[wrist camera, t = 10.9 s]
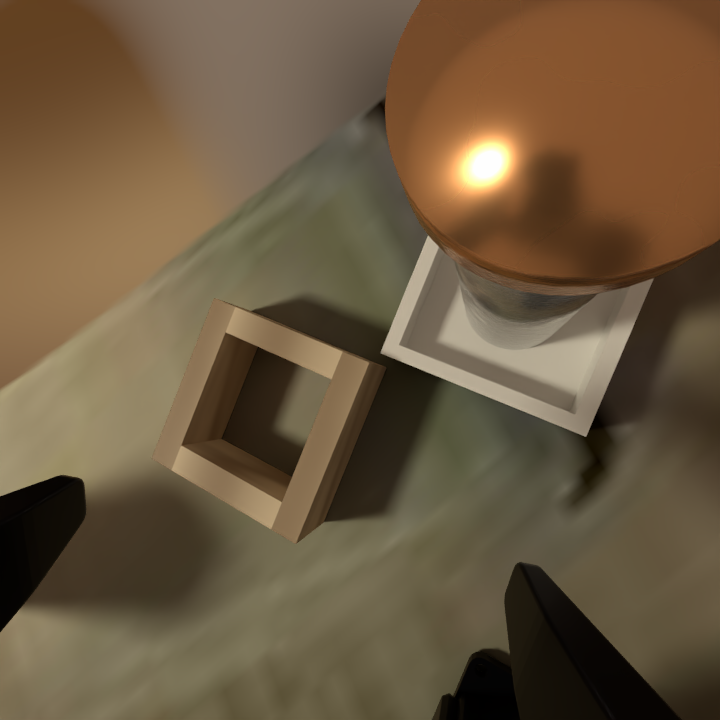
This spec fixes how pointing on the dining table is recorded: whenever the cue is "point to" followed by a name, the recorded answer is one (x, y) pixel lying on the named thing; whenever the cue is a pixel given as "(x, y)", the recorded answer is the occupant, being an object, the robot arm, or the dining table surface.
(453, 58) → the copper-capped peg
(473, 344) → the tray
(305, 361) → the socket block
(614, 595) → the dining table surface
